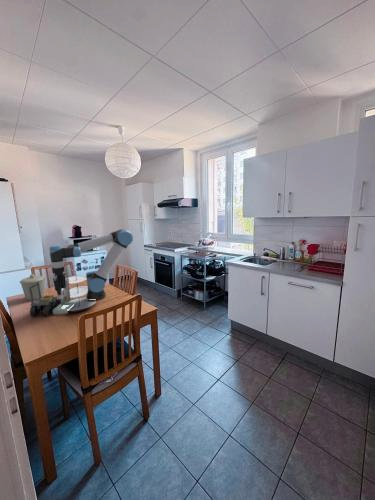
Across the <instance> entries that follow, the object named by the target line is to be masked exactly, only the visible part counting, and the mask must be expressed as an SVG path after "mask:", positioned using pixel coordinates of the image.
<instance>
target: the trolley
mask: <svg viewBox="0 0 375 500" xmlns="http://www.w3.org/2000/svg"><path fill="white" fill-rule="evenodd" d="M36 285H37V288H38V294H39V299H35V300H33V296H32V290H31V288H32V287H34V286H36ZM29 293H30V299H31V300H30V308H29V314H30V316H31V317H38V316H39V315H40V313H41V312H42V313H43V314H44V316H51V315H52V314H53V309H55V308H56V307H57V306H58V305H59V300H58V296H54V294H52V295H50V294H49V295H44V296H43V297H42V298H41V292H40V286H39V283H36V284H34V285H32V286H30V287H29Z"/></svg>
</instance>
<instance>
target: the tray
mask: <svg viewBox="0 0 375 500" xmlns="http://www.w3.org/2000/svg"><path fill="white" fill-rule="evenodd" d="M73 304H74V305H75V302H74V301H69V302H65V304H63V305H69V306H68V307H66V308H65V309H61V307H62V306H63V305H61V304H60V305H58V306H57V307H56V308H55V309H53V313H52V314H53V315H55V316H56V315H57V316H58V315H66V314H68V313H69V312H68V311H67V309H69V308H70V307H71V306H72V305H73Z"/></svg>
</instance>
